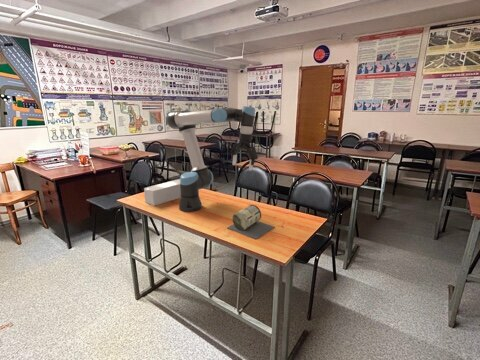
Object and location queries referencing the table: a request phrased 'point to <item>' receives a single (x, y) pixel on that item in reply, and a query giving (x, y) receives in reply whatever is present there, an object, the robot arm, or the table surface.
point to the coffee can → (246, 217)
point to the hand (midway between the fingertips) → (242, 167)
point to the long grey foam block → (162, 192)
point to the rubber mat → (254, 230)
